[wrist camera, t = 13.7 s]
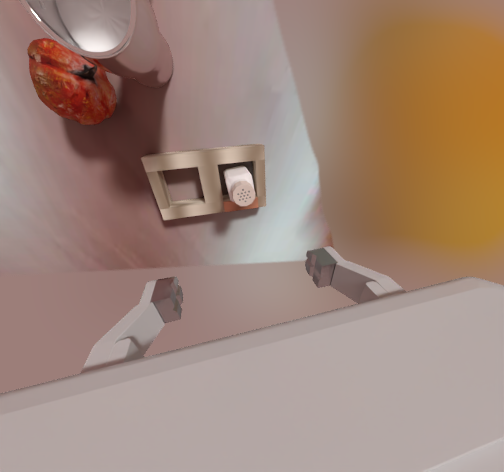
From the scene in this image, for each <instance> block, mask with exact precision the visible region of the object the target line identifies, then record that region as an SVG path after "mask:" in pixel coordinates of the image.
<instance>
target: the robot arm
mask: <svg viewBox="0 0 504 472" xmlns="http://www.w3.org/2000/svg"><path fill="white" fill-rule="evenodd" d="M306 256H307V257H308V259H307V260H306V262H305V263H306V264H305V266H306V270H307V272H308V274H309V275H310V276H312V277H313V281H314V283H315V284H316V286H317V287H318V288H320V287H325V286H330V285H331V287H333V288H335V289H336V290H338V291H339V292H341V293H342V294H344V295H346V296H347V297H349V298H350V299H352V300H353V301H355V302H357V303H358V304H355V305H351V306H348V307H344V308H340V309H335V310H332V311H328V312H324V313H320V314H316V315H312V316H308V317H304V318H300V319H296V320H292V321H288V322H284V323H280V324H276V325H272V326H268V327H264V328H260V329H256V330H252V331H248V332H244V333H240V334H236V335H232V336H229V337H224V338H220V339H216V340H212V341H208V342H204V343H200V344H196V345H192V346H188V347H184V348H180V349H176V350H172V351H168V352H164V353H160V354H156V355H152V356H148V357H144V356H143V355H144V354H145V352H146V351H147V349H148V348H149V346H150V345H151V344H152V342H153V341H154V339H155V338H156V336H157V335H158V333H159V332H160V330H161V329H162V328H163V326H164V325H165V323H167V322H171V321H175V320H179V319H181V310H182V309H181V306H180V305H181V304H182V301H183V293H182V289H181V287H180V286H179V285H178V279H177V277H170V278H164V279H158V280H154V281H148V283H146V286H145V289H144V292H143V295H142V297H141V300H140V303H139V305H137V306H135V307H134V308H133V309H132V310H131V311H130V312H129V313H128V314H127V315H126V316H125V317H123V318H122V319H121V320H120V321H119V322H118V323H117V324H116V325H115V326H114V327H113V328H112V329H111V330H110V331H109V332H108V333H107V334H106V335H104V336H103V337H102V338H101V339H100V340H99V341H98V342H97V343H96V344H95V345H94V347H93V349H92V351H91V353H90V355H89V357H88V359H87V361H86V363H85V365H84V367H83V369H82V371H81V373H80V374H77V375H73V376H69V377H65V378H61V379H57V380H53V381H49V382H45V383H41V384H37V385H33V386H29V387H25V388H21V389H17V390H13V391H9V392H5V393H1V394H0V472H504V286H503V285H500V284H497V283H493V282H490V281H486V280H483V279H479V278H475V277H464V278H459V279H455V280H451V281H447V282H443V283H439V284H435V285H431V286H427V287H423V288H419V289H415V290H411V291H408V292H406V291H405V290H404V289H403V288H401V287H400V286H399V285H398V284H397V283H395V282H394V281H393V280H392V279H391V278H390V277H388V276H385V275H383V274H380V273H378V272H375V271H372V270H370V269H367V268H365V267H362V266H360V265H357V264H354V263H352V262H349V261H345V260H344V259H343V258H342V257H341V256H340V255H339V254H338V253H337V252H336V251H335V250H334V249H333V248H332V247H330V246H328V247H323V248H319V249H314V250H309V251H307V254H306Z"/></svg>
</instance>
